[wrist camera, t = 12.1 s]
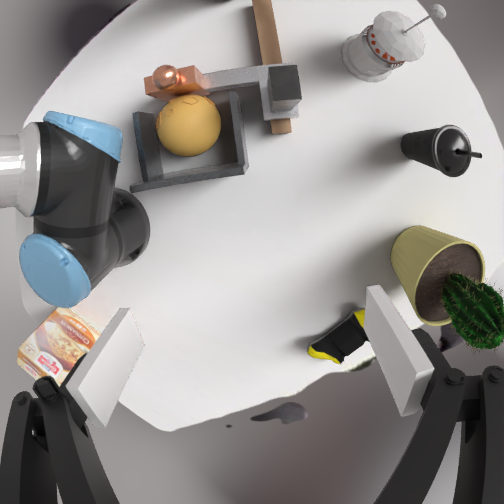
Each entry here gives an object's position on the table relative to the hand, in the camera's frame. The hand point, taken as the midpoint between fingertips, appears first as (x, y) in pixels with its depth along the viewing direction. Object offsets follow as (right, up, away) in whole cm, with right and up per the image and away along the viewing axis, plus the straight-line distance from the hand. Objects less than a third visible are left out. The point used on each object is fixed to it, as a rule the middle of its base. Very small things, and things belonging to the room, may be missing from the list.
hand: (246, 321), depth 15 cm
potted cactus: (+33, +4, +37) cm, 50 cm away
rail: (+3, +35, +26) cm, 43 cm away
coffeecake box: (-43, -16, +48) cm, 66 cm away
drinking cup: (+29, +23, +29) cm, 47 cm away
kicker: (-3, +28, +27) cm, 39 cm away
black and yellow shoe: (+20, -13, +44) cm, 50 cm away
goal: (-9, +23, +31) cm, 39 cm away
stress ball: (-9, +25, +30) cm, 40 cm away
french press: (+21, +38, +24) cm, 50 cm away
